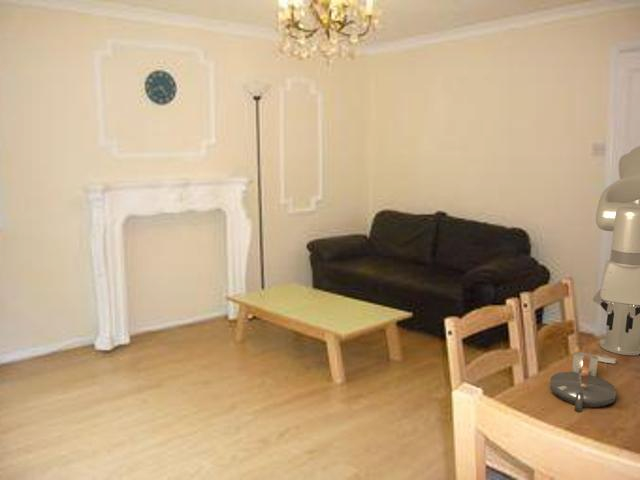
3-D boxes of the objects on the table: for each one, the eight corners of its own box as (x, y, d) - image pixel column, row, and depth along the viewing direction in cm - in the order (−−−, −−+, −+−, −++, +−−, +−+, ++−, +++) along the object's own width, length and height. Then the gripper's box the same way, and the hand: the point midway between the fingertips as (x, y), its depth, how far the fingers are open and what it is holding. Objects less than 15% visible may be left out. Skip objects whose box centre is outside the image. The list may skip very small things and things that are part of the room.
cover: (572, 371, 163) (574, 350, 162) (596, 375, 160) (598, 355, 159) (570, 379, 158) (572, 358, 157) (594, 383, 155) (597, 362, 154)
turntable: (553, 374, 157) (556, 350, 156) (616, 387, 150) (619, 361, 149) (546, 396, 144) (548, 369, 143) (613, 411, 137) (617, 383, 136)
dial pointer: (575, 405, 142) (577, 389, 141) (582, 407, 141) (584, 390, 140) (574, 411, 139) (576, 394, 138) (581, 412, 138) (583, 395, 138)
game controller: (612, 360, 173) (613, 351, 172) (626, 376, 162) (627, 367, 161) (592, 358, 174) (593, 350, 173) (604, 374, 162) (605, 365, 162)
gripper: (665, 259, 142) (655, 331, 145) (591, 251, 150) (584, 320, 153) (666, 265, 135) (656, 340, 139) (589, 256, 143) (581, 328, 146)
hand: (618, 329), depth 146 cm, fingers open, 3 cm apart
